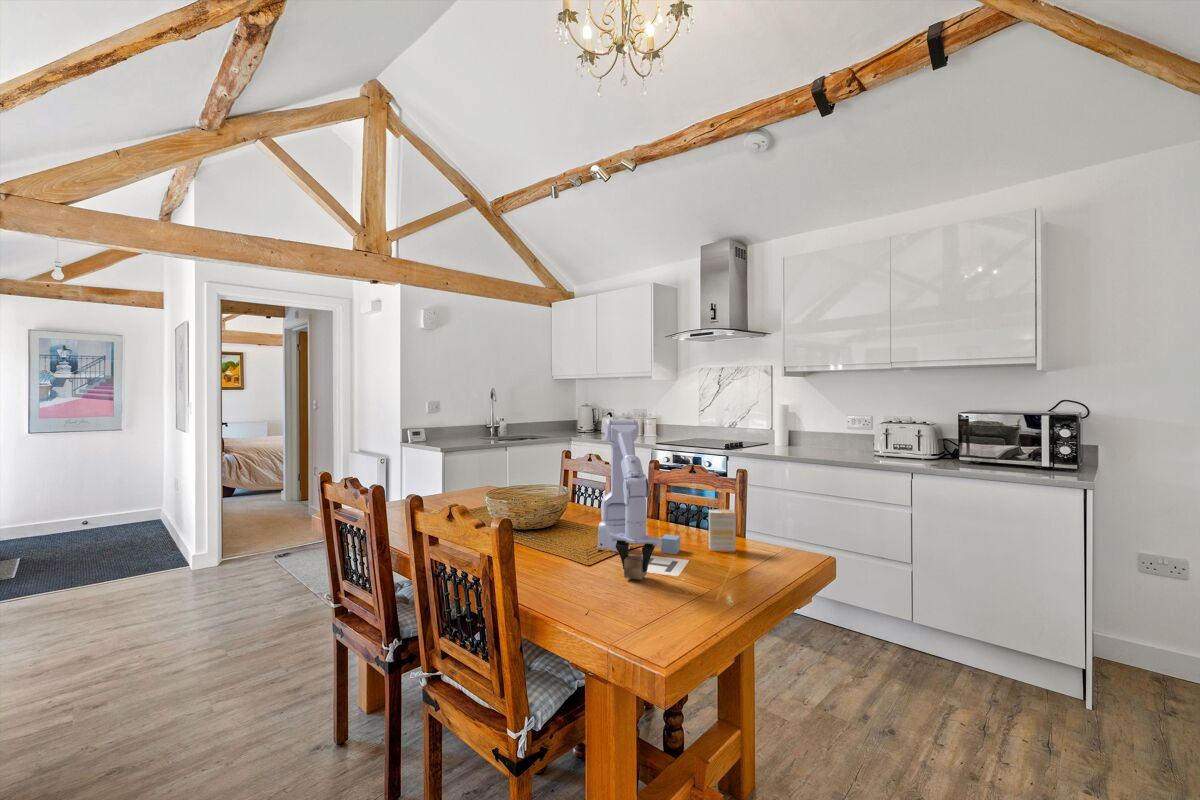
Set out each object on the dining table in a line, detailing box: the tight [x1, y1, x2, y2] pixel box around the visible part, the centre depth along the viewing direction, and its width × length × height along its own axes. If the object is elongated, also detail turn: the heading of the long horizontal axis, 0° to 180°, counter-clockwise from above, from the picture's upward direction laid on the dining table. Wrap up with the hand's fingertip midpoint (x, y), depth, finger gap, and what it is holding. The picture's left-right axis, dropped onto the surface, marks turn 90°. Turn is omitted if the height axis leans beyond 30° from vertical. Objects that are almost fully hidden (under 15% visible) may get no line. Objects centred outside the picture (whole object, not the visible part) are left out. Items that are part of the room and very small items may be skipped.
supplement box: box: [708, 508, 737, 554], centre depth 177 cm, size 8×5×13 cm, turn 84°
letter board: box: [641, 553, 690, 577], centre depth 163 cm, size 15×15×1 cm
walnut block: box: [623, 553, 648, 581], centre depth 151 cm, size 5×5×5 cm
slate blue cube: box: [660, 533, 681, 555], centre depth 176 cm, size 5×5×5 cm
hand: (635, 569), depth 151 cm, fingers open, 5 cm apart
